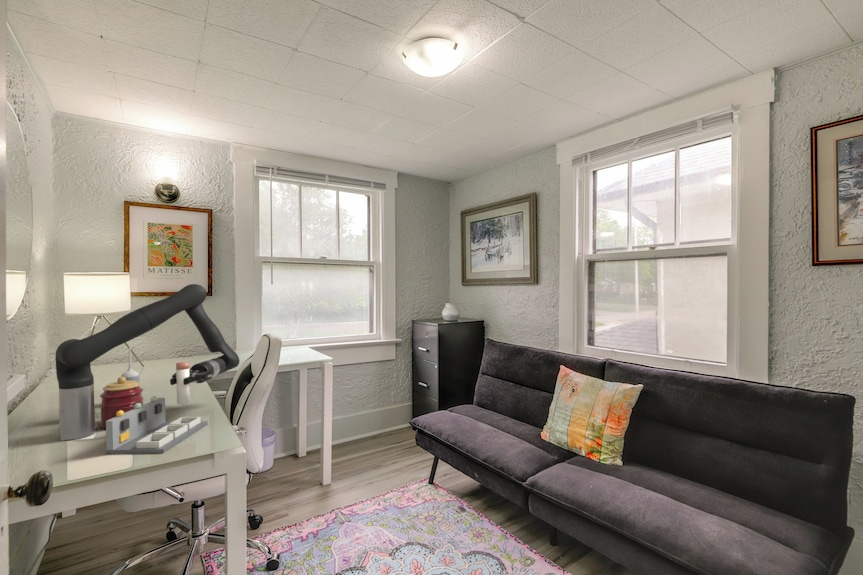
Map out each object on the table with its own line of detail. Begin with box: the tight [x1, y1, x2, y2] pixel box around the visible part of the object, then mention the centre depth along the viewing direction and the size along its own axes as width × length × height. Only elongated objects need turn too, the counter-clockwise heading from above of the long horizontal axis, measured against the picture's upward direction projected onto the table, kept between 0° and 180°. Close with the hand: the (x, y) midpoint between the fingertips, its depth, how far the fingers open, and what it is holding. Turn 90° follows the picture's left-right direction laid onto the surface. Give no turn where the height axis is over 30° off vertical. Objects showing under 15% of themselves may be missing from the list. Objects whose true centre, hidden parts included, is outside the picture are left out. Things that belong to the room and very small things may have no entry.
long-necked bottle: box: [120, 346, 141, 388], centre depth 179 cm, size 8×8×25 cm
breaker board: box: [104, 395, 209, 455], centre depth 139 cm, size 25×18×12 cm
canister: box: [99, 376, 144, 429], centre depth 154 cm, size 13×13×18 cm
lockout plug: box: [175, 361, 191, 405], centre depth 146 cm, size 4×4×14 cm
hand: (178, 381), depth 144 cm, fingers closed on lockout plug, 4 cm apart
